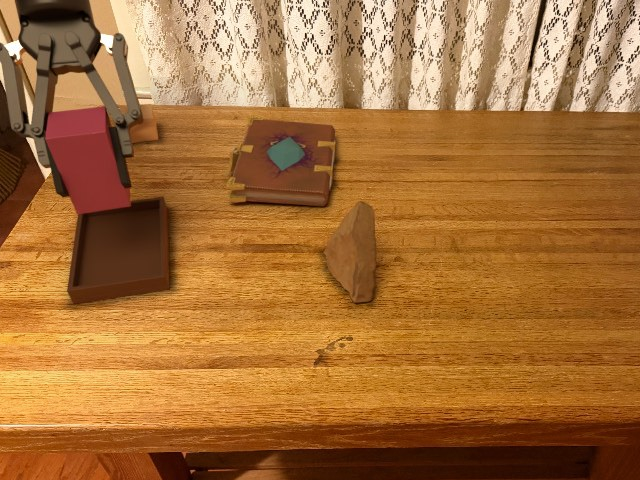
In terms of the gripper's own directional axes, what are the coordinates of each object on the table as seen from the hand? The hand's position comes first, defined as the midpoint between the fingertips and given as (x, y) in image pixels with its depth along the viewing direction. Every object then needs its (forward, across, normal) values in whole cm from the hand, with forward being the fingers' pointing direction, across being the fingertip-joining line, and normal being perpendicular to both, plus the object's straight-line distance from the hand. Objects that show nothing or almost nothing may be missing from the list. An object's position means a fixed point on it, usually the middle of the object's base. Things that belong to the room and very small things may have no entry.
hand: (95, 189), depth 68 cm
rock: (+16, +27, +2) cm, 31 cm away
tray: (+6, 0, +11) cm, 13 cm away
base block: (-16, +3, +33) cm, 37 cm away
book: (-5, +25, +23) cm, 34 cm away
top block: (0, 0, +5) cm, 5 cm away
